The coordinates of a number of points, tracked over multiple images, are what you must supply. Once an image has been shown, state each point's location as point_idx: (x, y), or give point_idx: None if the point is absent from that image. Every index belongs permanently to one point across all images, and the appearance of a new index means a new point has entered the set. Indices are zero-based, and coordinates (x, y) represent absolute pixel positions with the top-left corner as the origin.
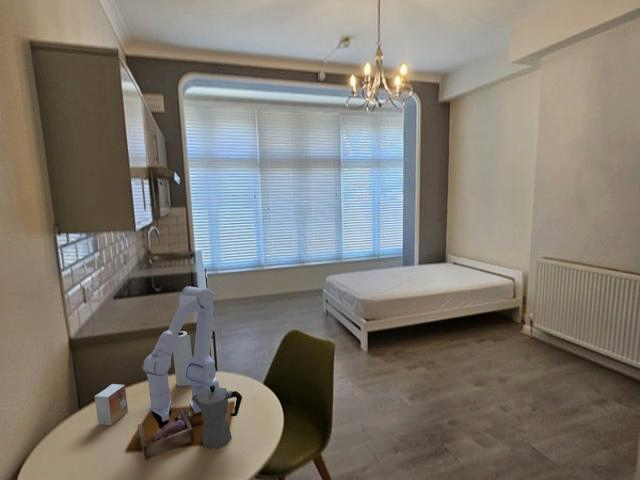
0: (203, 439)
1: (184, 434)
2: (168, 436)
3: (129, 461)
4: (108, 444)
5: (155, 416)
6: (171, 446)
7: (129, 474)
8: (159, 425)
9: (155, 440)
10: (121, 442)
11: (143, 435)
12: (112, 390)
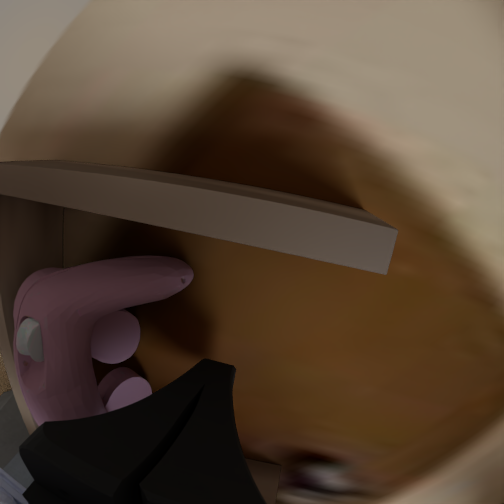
0: (13, 409)
1: None
2: (8, 342)
3: (110, 74)
4: (436, 14)
5: (22, 445)
6: None
7: (32, 75)
8: (162, 391)
9: (42, 269)
10: (395, 75)
11: (102, 207)
12: None
